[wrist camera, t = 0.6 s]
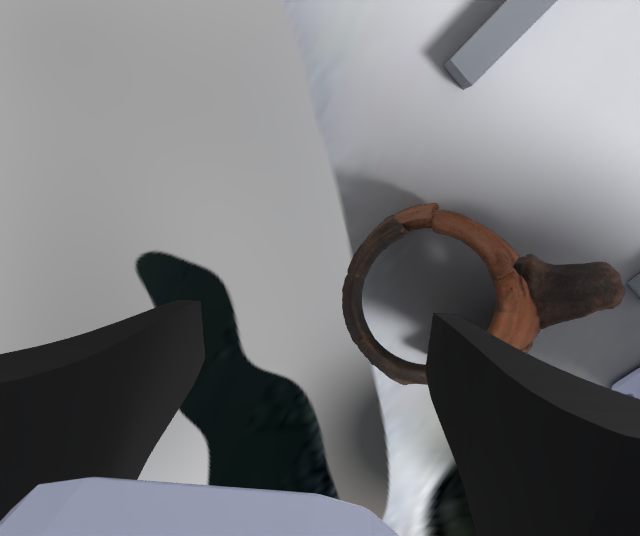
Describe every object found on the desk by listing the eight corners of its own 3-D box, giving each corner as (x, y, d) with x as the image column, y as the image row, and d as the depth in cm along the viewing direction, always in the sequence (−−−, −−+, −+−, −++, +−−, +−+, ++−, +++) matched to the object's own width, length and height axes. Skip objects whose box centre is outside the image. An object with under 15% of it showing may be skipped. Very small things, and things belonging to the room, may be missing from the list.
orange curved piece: (395, 380, 23) (349, 423, 16) (362, 242, 25) (305, 223, 17) (620, 350, 18) (703, 392, 11) (561, 180, 20) (601, 116, 13)
